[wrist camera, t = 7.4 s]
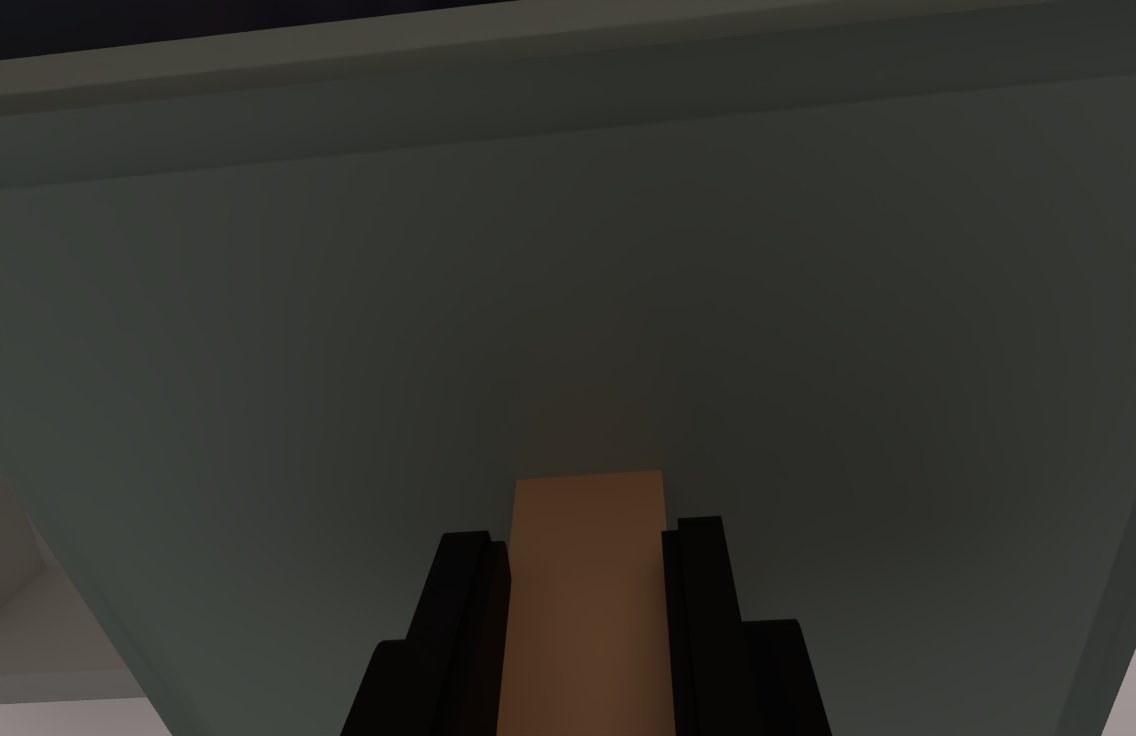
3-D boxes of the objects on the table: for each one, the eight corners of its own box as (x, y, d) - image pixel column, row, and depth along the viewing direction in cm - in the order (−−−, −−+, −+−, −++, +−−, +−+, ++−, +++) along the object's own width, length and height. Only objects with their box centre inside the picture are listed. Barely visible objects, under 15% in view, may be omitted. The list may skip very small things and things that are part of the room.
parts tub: (-129, 103, 33) (-351, 128, 25) (247, 61, 31) (129, 74, 24) (41, 579, 40) (-94, 708, 32) (354, 560, 38) (289, 689, 31)
